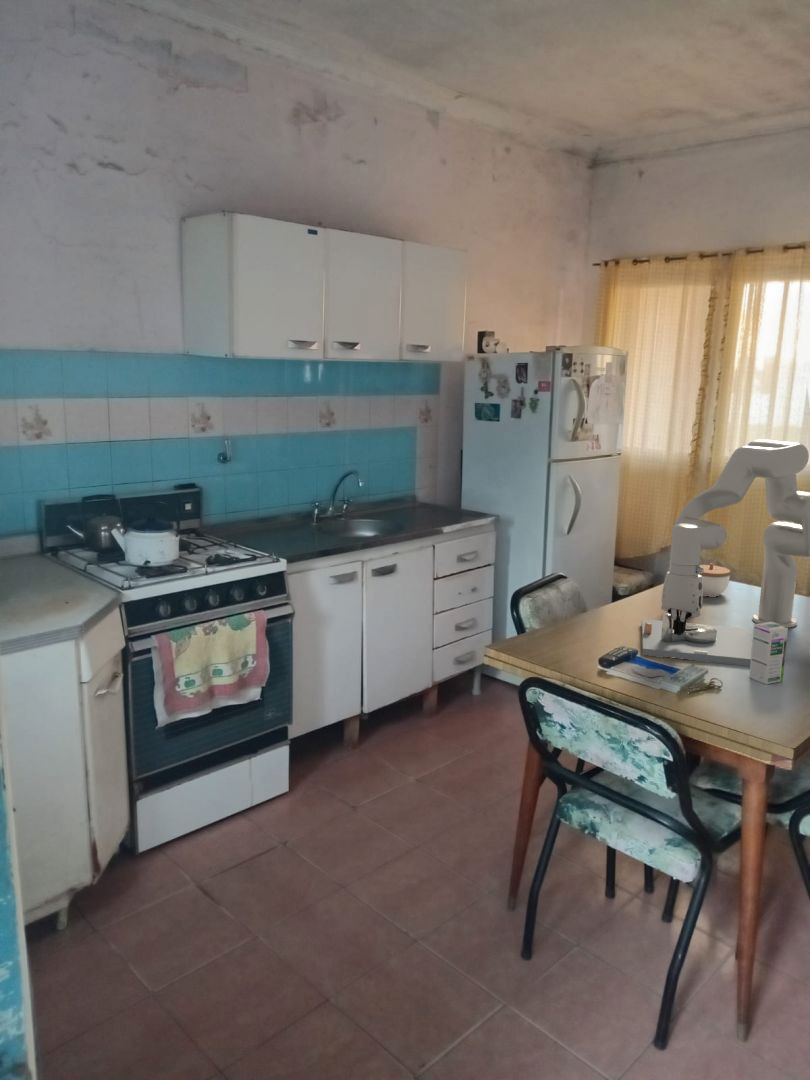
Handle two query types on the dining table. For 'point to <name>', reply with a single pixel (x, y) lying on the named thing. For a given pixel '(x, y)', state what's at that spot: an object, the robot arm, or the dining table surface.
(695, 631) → the grey piece
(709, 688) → the dining table surface
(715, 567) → the lidded bowl
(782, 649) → the syrup box
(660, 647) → the board
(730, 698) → the dining table surface
